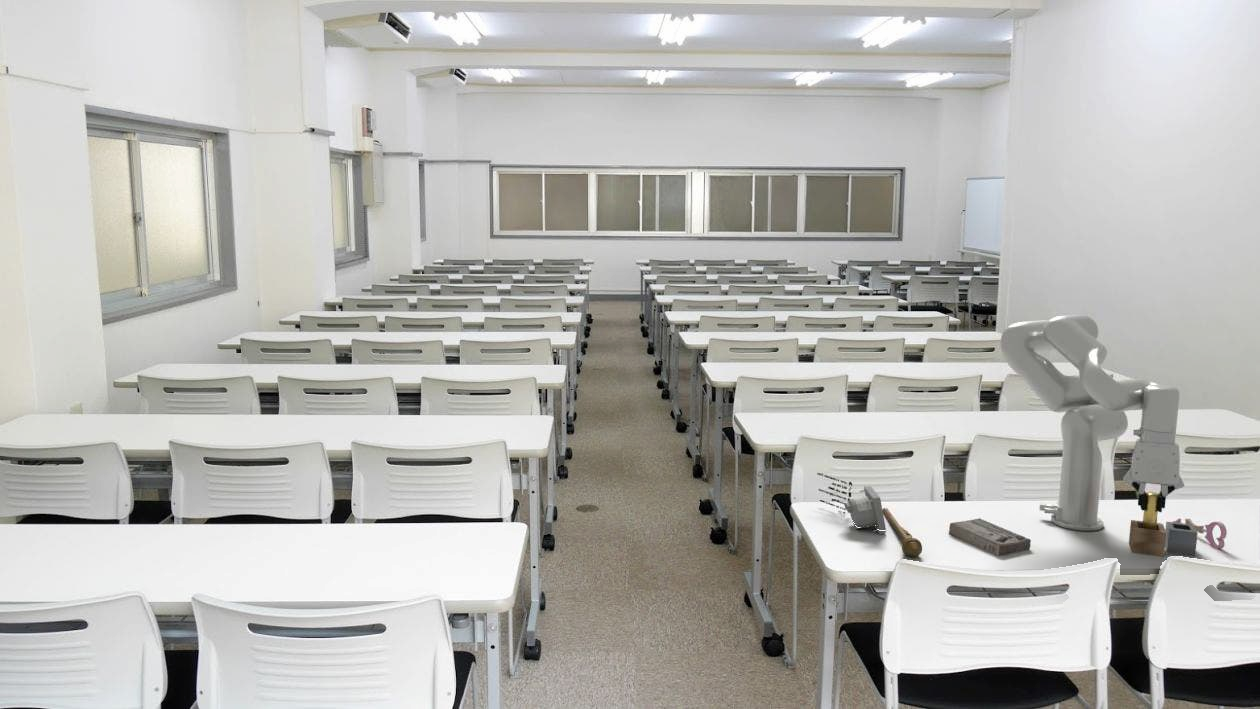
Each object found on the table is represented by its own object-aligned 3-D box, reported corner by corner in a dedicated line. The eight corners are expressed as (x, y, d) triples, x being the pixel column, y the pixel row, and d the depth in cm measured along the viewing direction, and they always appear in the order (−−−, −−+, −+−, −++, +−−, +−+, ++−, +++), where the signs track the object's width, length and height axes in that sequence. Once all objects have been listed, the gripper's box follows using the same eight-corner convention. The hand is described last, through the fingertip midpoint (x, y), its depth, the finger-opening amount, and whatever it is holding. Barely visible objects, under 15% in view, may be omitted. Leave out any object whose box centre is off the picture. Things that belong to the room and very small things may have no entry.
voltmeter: (900, 530, 253) (902, 493, 251) (870, 539, 246) (872, 501, 244) (823, 503, 274) (825, 469, 272) (794, 511, 267) (795, 476, 265)
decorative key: (1174, 535, 258) (1226, 550, 239) (1170, 535, 258) (1222, 550, 239) (1174, 510, 258) (1226, 523, 239) (1170, 510, 258) (1222, 523, 238)
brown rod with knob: (875, 517, 267) (892, 519, 267) (903, 560, 232) (923, 562, 232) (877, 501, 266) (895, 503, 266) (906, 541, 231) (926, 543, 231)
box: (978, 528, 255) (979, 517, 255) (1031, 551, 240) (1032, 539, 239) (947, 534, 250) (948, 522, 250) (998, 557, 235) (1000, 545, 235)
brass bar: (1141, 542, 238) (1146, 494, 236) (1140, 538, 241) (1144, 491, 239) (1155, 543, 237) (1160, 496, 235) (1154, 539, 240) (1158, 492, 238)
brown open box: (1131, 552, 238) (1133, 528, 237) (1128, 542, 244) (1131, 519, 243) (1163, 556, 235) (1166, 532, 234) (1160, 546, 242) (1162, 523, 241)
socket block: (1166, 552, 238) (1169, 529, 237) (1163, 544, 243) (1166, 521, 242) (1195, 556, 236) (1197, 532, 235) (1191, 547, 241) (1193, 524, 240)
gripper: (1121, 436, 235) (1114, 510, 238) (1198, 443, 228) (1191, 518, 231) (1118, 429, 241) (1112, 501, 244) (1194, 435, 235) (1186, 509, 238)
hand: (1150, 509), depth 238 cm, fingers closed on brass bar, 3 cm apart
